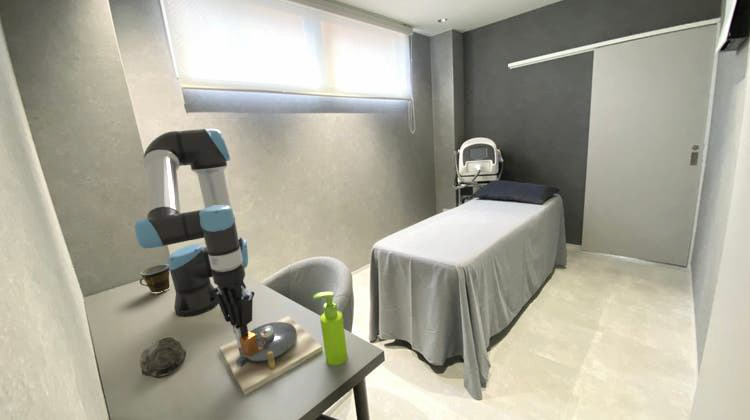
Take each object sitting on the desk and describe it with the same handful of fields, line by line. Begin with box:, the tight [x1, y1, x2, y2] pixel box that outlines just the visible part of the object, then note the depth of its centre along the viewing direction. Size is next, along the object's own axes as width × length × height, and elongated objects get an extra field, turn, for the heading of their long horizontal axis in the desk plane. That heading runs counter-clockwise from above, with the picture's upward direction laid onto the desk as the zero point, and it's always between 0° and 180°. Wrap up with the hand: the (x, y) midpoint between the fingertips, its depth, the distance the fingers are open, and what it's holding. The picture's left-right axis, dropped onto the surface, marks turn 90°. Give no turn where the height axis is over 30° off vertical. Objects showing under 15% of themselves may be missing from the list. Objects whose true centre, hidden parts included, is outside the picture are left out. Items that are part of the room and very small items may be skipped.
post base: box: [219, 315, 323, 396], centre depth 92 cm, size 22×22×6 cm
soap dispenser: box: [312, 291, 348, 366], centre depth 85 cm, size 6×7×20 cm
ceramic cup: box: [139, 263, 170, 293], centre depth 134 cm, size 13×10×10 cm
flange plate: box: [236, 321, 297, 367], centre depth 90 cm, size 18×16×6 cm
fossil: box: [139, 336, 187, 379], centre depth 89 cm, size 11×9×10 cm
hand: (243, 344), depth 87 cm, fingers closed
